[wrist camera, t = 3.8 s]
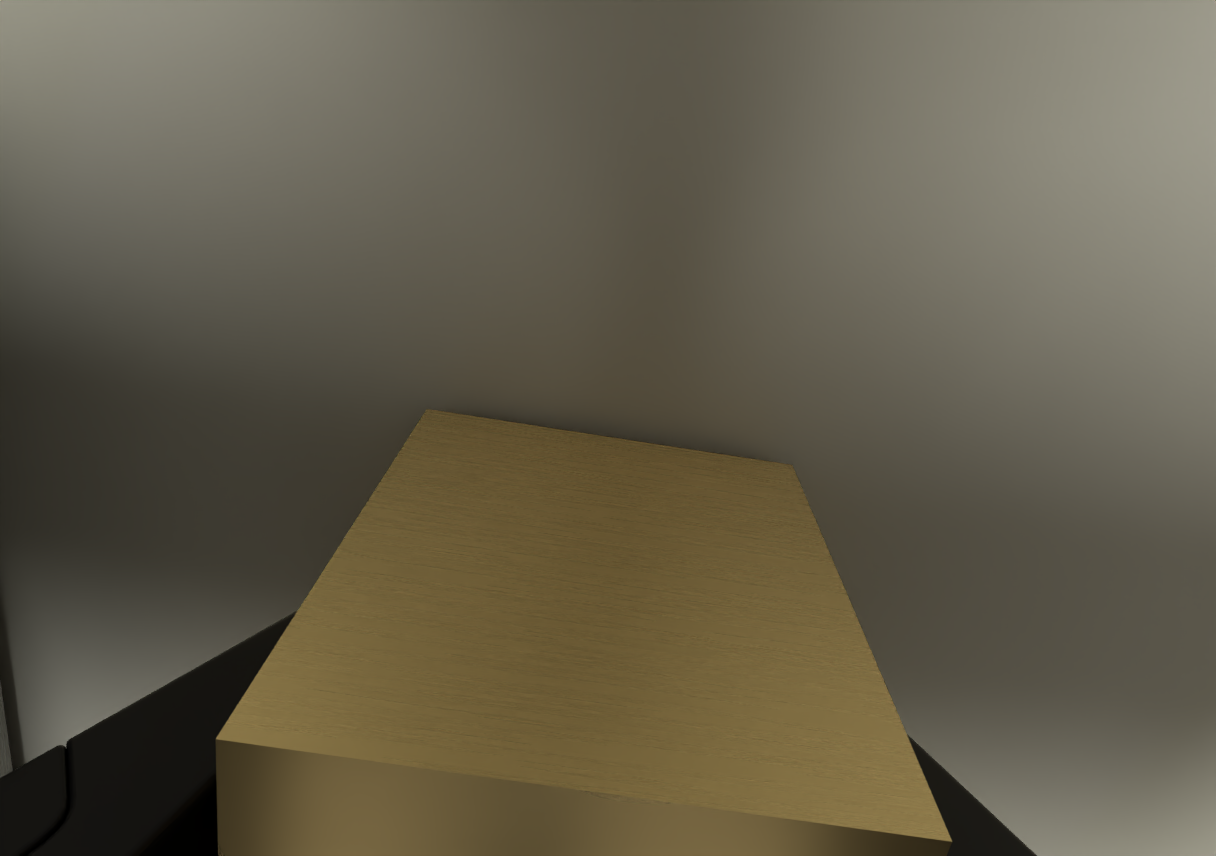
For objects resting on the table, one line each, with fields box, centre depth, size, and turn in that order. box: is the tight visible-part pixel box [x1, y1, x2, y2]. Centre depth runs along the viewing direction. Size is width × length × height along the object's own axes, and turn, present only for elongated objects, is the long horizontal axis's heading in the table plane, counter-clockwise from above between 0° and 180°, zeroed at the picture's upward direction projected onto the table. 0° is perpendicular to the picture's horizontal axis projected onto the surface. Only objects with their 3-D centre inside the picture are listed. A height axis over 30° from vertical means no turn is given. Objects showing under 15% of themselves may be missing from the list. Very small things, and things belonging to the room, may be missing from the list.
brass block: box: [216, 409, 952, 856], centre depth 8 cm, size 4×4×5 cm
